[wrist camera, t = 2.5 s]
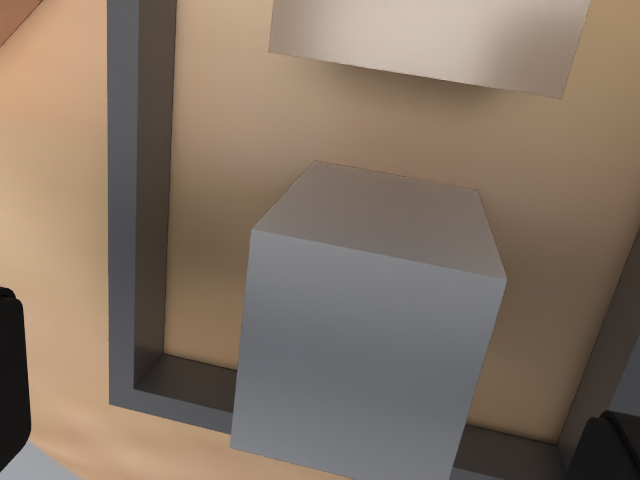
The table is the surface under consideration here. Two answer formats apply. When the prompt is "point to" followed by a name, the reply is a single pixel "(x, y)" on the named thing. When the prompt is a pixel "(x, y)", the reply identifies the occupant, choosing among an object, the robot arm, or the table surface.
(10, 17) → the bowl
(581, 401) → the tray
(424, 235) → the grey sharp-edged cuboid
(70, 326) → the table surface
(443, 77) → the greyish beige block
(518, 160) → the table surface
